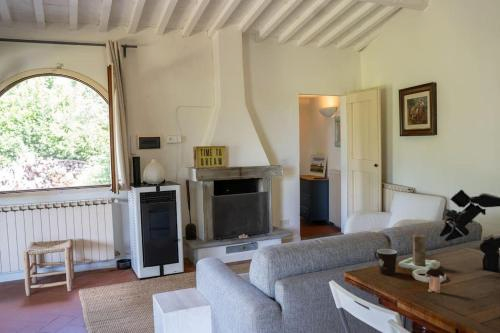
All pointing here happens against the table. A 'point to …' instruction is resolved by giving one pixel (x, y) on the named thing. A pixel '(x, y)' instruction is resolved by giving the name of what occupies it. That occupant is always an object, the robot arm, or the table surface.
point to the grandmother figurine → (434, 277)
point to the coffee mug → (386, 261)
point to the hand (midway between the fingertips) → (442, 238)
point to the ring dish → (422, 278)
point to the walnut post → (419, 250)
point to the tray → (409, 265)
